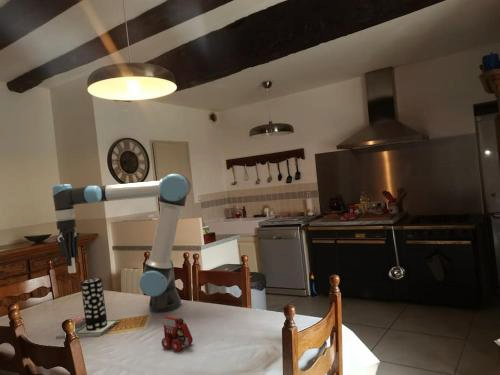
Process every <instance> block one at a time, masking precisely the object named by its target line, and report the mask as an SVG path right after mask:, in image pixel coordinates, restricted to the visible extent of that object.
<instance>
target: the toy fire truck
mask: <svg viewBox="0 0 500 375" xmlns="http://www.w3.org/2000/svg"><path fill="white" fill-rule="evenodd" d="M161 320H162V322H161V323H162V326H163V333H164V337H163V338H162V339H161V346H162V348H163V349H164V350H169V349H172V350H173V351H174V352H176V353H178V352H180V351H182V349H183V347H184V346H186V347H189V346H190V345H192V343H193V341H194V340H193V337H192V334H191V331H190V328H189V327H188V325H187V323H185V320H184V318H181V317H180V318H177V317H173V316H167V315H166V316H165V315H164V316H163V317H162V319H161Z"/></svg>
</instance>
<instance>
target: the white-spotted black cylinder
mask: <svg viewBox="0 0 500 375" xmlns="http://www.w3.org/2000/svg"><path fill="white" fill-rule="evenodd" d="M80 287H81V296H82V303H83V312H84V318H85V322H86V330H88V331H94V330H99V329H102V328H104V327H106V326H107V320H108V319H107V312H106V311H107V310H106V305H105V304H106V302H105V295H104V286H103V279H102V277H93V278H88V279H85V280H82V281H80Z"/></svg>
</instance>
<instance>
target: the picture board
mask: <svg viewBox="0 0 500 375" xmlns="http://www.w3.org/2000/svg"><path fill="white" fill-rule="evenodd" d="M82 318H83V321H81V322H80V323H75V333H76V334H77V336H78V337H77V338H93V337H94V338H95V337H97V338H98V337H101V336H103V335H104V334H105V333H107V332H108V331H109V330H110V329H111V328H110V327H111V326H112V325H114V324H115V323H116V322H117V321H119V322H120V319H107V326H106V327H104V328H102V329H99V330H94V331H88V330H86V322H85V317H82ZM114 326H115V325H114ZM109 328H110V329H109ZM55 339H66V338H65V332H64V330H63V331H62V332H60V333H58V334H57V335H55Z"/></svg>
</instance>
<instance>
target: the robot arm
mask: <svg viewBox="0 0 500 375" xmlns="http://www.w3.org/2000/svg"><path fill="white" fill-rule="evenodd" d="M191 188H192V187H191V182H190V180H189V179H188V178H187V176H184V175H182V174H178V173H171V174H167V175H166V176H164V177H162V178H161V179H160V180H153V181H151V180H150V181H141V182H131V183H130V182H129V183H120V184H119V183H118V184H107V185H87V186H86V185H85V186H81V187H80V186H79V187H72V184H70V183H65V184H55V185H53V187H52V198H53V205H54V212H55V220H57V221H56V222H55V223H56V224H55V225H56V229H57V231H59V232H58V235H59V236H58V237H55V241H56V242H57V244H58V245H57V246H58V249H59V252H60V255H61V258H62V259H63V260H65V261H66V266H67V272H68V274H74V273H77V269H76V268H77V267H76V259H75V258H76V257H78V254H79V237H80V233H79V232H77V231H76V230H75V228H76V227H77V224H76V221H77V220H76V219H75V218H76V213H75V206H77V205H85V204H95V203H102V202H103V203H104V202H110V201H111V202H112V201H124V200H134V199H135V200H136V199H147V198H158V203H159V204H160V209H159V210H160V211H159V214H158V220H157V224H156V228H155V229H156V230H155V235H154V238H153V243H152V248H151V252H150V253H151V254H150V258H149V259H147V260H146V261H145V263H144V269H143V273H142V275H141V276H140V278H139V288H140V290H141V292H142V293H143V294H145V295H146V296H149V297H150V298H149V303H148V309H149V312H152V313H164V312H168V311H169V312H170V311H172V310H176V309H178V308H180V306H181V305H182V299H181V297H180V295H179V293H178V290H177V289H176V281H175V280H176V279H175V278H176V277H175V271H174V261H173V259H172V258H171V256H172V252H173V248H174V242H175V236H176V233H177V227H178V222H179V218H180V214H181V210H182V209H183V208H185V205H186V202H187V197H188V196H189V194H190V192H191V190H192V189H191Z"/></svg>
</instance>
